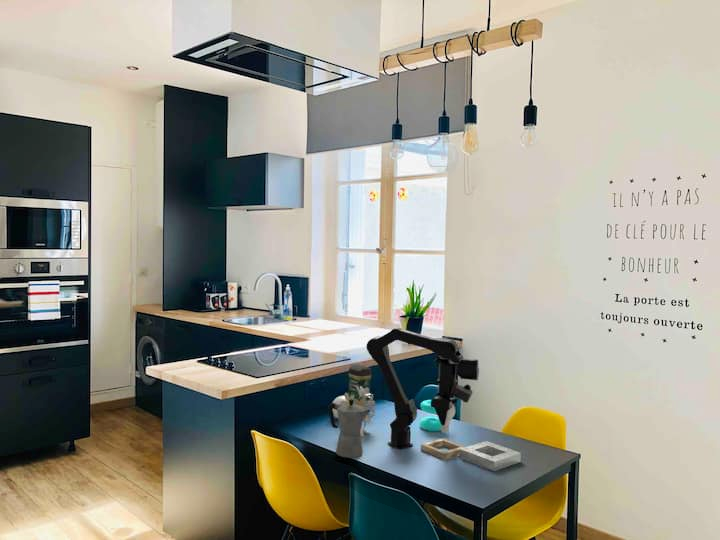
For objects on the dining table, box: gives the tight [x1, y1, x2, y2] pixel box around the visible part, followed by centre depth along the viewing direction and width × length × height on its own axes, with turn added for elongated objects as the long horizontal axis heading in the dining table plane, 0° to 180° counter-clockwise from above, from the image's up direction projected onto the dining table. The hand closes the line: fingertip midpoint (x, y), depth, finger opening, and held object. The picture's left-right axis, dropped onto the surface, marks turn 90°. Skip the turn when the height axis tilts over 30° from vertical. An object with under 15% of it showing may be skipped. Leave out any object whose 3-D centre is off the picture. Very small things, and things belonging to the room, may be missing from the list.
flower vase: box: [332, 385, 376, 437], centre depth 225 cm, size 13×18×25 cm
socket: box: [459, 440, 522, 472], centre depth 194 cm, size 14×14×3 cm
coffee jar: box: [347, 364, 372, 405], centre depth 248 cm, size 10×8×19 cm
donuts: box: [419, 399, 442, 432], centre depth 226 cm, size 10×10×10 cm
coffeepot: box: [327, 399, 370, 459], centre depth 196 cm, size 15×9×18 cm, turn 62°
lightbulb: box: [440, 404, 456, 434], centre depth 200 cm, size 6×6×11 cm
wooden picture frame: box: [420, 438, 466, 461], centre depth 201 cm, size 11×11×2 cm
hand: (445, 422), depth 200 cm, fingers closed on lightbulb, 6 cm apart
